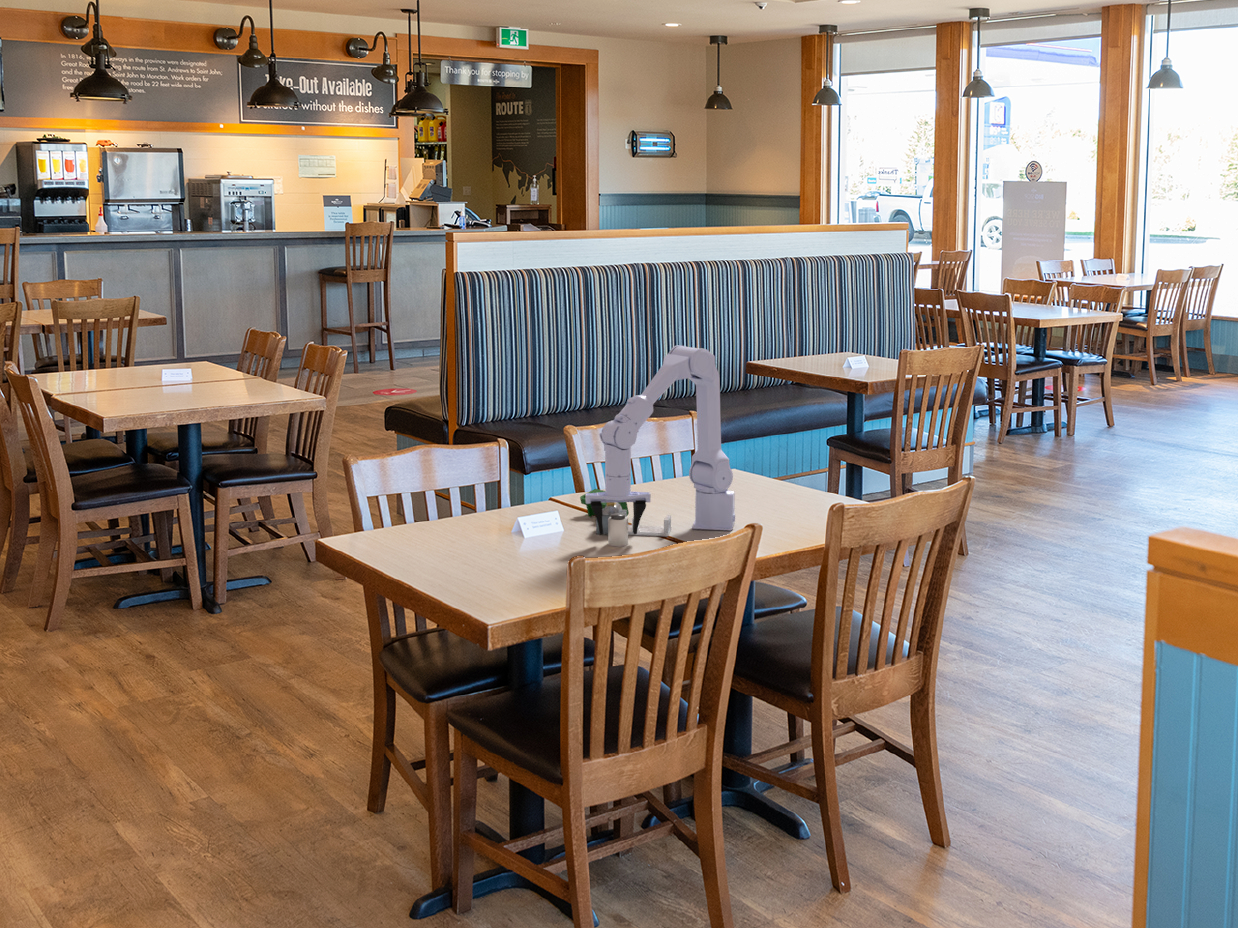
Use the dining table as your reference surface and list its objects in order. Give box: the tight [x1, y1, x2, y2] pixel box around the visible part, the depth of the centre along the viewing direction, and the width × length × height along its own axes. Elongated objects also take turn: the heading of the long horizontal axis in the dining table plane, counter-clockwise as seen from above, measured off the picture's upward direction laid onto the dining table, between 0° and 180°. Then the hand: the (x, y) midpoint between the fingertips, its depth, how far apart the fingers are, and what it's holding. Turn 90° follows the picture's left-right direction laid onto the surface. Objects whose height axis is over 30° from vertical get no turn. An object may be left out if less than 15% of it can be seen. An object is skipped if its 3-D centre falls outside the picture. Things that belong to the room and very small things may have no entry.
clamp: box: [579, 488, 629, 518], centre depth 302 cm, size 12×6×9 cm, turn 35°
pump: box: [607, 513, 629, 548], centre depth 277 cm, size 4×4×7 cm
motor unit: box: [595, 502, 672, 537], centre depth 287 cm, size 17×7×7 cm, turn 80°
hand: (618, 533), depth 277 cm, fingers open, 7 cm apart
